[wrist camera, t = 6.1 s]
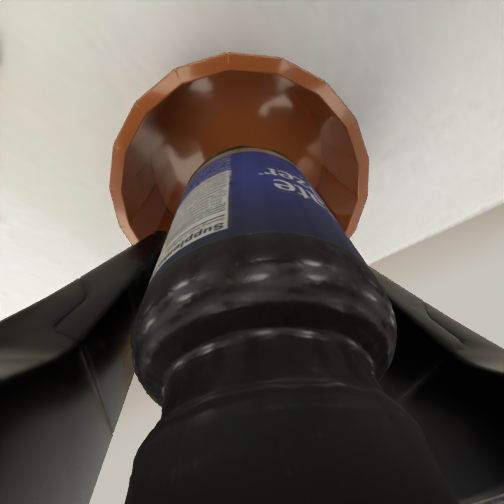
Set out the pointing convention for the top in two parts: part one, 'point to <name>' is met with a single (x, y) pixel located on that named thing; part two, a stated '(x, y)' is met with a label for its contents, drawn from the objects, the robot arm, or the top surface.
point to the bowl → (234, 136)
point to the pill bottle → (270, 354)
